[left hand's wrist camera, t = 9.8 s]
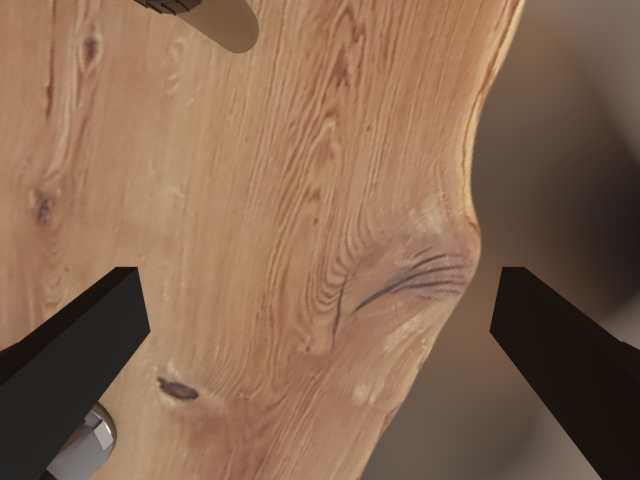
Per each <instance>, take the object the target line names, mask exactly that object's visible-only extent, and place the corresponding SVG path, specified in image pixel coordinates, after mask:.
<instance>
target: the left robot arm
mask: <svg viewBox="0 0 640 480" xmlns="http://www.w3.org/2000/svg"><path fill="white" fill-rule="evenodd" d="M149 333H150V327H149V322H148V317H147V312H146V307H145V302H144V297H143V292H142V287H141V282H140V277H139V272H138V267H115V268H114V269H113V270H111V271H110V272H109V273H108V274H106V275H105V276H104V277H102V278H101V279H100V280H99V281H97V282H96V283H95V284H93V285H92V286H91V287H90V288H88V289H87V290H86V291H84V292H83V293H82V294H81V295H79V296H78V297H77V298H75V299H74V300H73V301H71V302H70V303H69V304H68V305H66V306H65V307H64V308H62V309H61V310H60V311H59V312H57V313H56V314H55V315H53V316H52V317H51V318H50V319H48V320H47V321H46V322H44V323H43V324H42V325H41V326H39V327H38V328H37V329H35V330H34V331H33V332H32V333H30V334H29V335H28V336H26V337H25V338H24V339H22V340H21V341H20V342H19V343H16V344H14V345H12V346H10V347H8V348H6V349H4V350H2V351H0V480H87V479H88V478H89V477H90V476H91V475H92V474H93V473H95V472H96V471H97V470H98V469H99V468H100V467H101V466H102V465H103V464H104V463H105V461H106V460H107V459H108V457H109V456H110V454H111V452H112V451H113V449H114V447H115V444H116V440H117V432H116V428H115V425H114V423H113V420H112V419H111V417H110V416H109V414H108V413H107V412H106V411H105V410H104V409H103V408H102V407H101V406H100V405H99V404H98V403H97V401H98V400H99V399H100V397H101V396H102V395H103V393H104V392H105V391H106V389H107V388H108V387H109V386H110V384H111V383H112V382H113V380H114V379H115V378H116V376H117V375H118V374H119V372H120V371H121V370H122V368H123V367H124V366H125V364H126V363H127V362H128V361H129V359H130V358H131V357H132V355H133V354H134V353H135V351H136V350H137V349H138V347H139V346H140V345H141V343H142V342H143V341H144V340H145V338H146V337H147V336H148V334H149ZM490 333H491V334H492V336H493V337H494V338H495V340H496V341H497V342H498V343H499V345H500V346H501V347H502V349H503V350H504V351H505V353H506V354H507V355H508V357H509V358H510V359H511V361H512V362H513V363H514V364H515V366H516V367H517V368H518V370H519V371H520V372H521V374H522V375H523V376H524V378H525V379H526V380H527V382H528V383H529V384H530V386H531V387H532V388H533V389H534V391H535V392H536V393H537V395H538V396H539V397H540V399H541V400H542V401H543V403H544V404H545V405H546V407H547V408H548V409H549V410H550V412H551V413H552V414H553V416H554V417H555V418H556V420H557V421H558V422H559V424H560V425H561V426H562V428H563V429H564V430H565V431H566V433H567V434H568V435H569V437H570V438H571V439H572V441H573V442H574V443H575V445H576V446H577V447H578V449H579V450H580V451H581V453H582V454H583V455H584V457H585V458H586V459H587V460H588V462H589V463H590V464H591V466H592V467H593V468H594V470H595V471H596V472H597V474H598V475H599V476H600V478H601V479H602V480H640V350H639V349H637V348H635V347H633V346H631V345H629V344H627V343H625V342H620V341H619V340H617V339H616V338H615V337H614V336H612V335H611V334H610V333H608V332H607V331H606V330H605V329H603V328H602V327H601V326H599V325H598V324H597V323H596V322H594V321H593V320H592V319H590V318H589V317H588V316H587V315H585V314H584V313H583V312H581V311H580V310H579V309H577V308H576V307H575V306H574V305H572V304H571V303H570V302H569V301H567V300H566V299H565V298H563V297H562V296H561V295H559V294H558V293H557V292H556V291H554V290H553V289H552V288H550V287H549V286H548V285H547V284H545V283H544V282H543V281H541V280H540V279H539V278H538V277H536V276H535V275H534V274H532V273H531V272H530V271H529V270H527V269H526V268H525V267H502V272H501V277H500V282H499V287H498V292H497V297H496V302H495V307H494V312H493V317H492V322H491V327H490Z"/></svg>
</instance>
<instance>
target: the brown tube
mask: <svg viewBox="0 0 640 480" xmlns="http://www.w3.org/2000/svg"><path fill="white" fill-rule="evenodd" d="M189 11H190V12H184V13H179V14H176V15H177V16H178V17H180V18H181V19H183V20H184V21H186V22H187V23H189V24H190V25H191V26H193V27H194V28H196V29H197V30H199V31H200V32H202V33H203V34H205V35H206V36H208V37H209V38H211V39H212V40H214V41H215V42H217V43H218V44H219V45H221V46H222V47H224V48H225V49H227V50H228V51H231V52H234V53H243V52H246V51H248V50H250V49H251V48H252V47H253V46H254V45H255V43H256V41H257V39H258V35H259V25H258V21H257V18H256V16H255V14H254V13H253V11H252V10H251V8H250V7H249V5H248V4H247V2H246V1H245V0H203V1H202V2H201V5H198V6H196V7H195V8H193V9H191V10H189Z"/></svg>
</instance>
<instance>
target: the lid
mask: <svg viewBox="0 0 640 480" xmlns="http://www.w3.org/2000/svg"><path fill="white" fill-rule="evenodd" d="M134 1H136V2H138V3H139V4H141V5H142V6H144V7H146V8H147V9H148V7H149V8H151V9H153V10H155V11H156V12H158V13H159V14H162V13H166V14H173V15H174V16H176V14H179V13H184V12H190V11H189V10H191V9H193V8H195V7H196V6H198V5H201V2H202V1H203V0H134Z"/></svg>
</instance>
